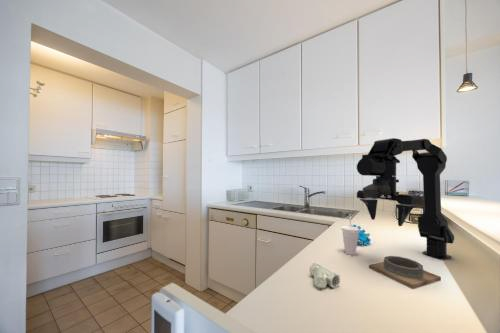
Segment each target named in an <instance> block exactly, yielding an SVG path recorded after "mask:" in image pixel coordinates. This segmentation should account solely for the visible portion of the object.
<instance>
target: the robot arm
mask: <svg viewBox="0 0 500 333" xmlns="http://www.w3.org/2000/svg"><path fill="white" fill-rule="evenodd" d="M424 150H425V151H426V152H420V153H419V151H424ZM408 151H409V152H410V151H412V158H411V159H413V161H415V163H416V167H417V169H418V171H419V172H420V174H421V175H422V181H423V182H422V185H423V186H422V188H423V190H422V191H423V198H422V196H420V195H419V194H412V193H411V194H410V193H404V194H403V193H399V191H397V183H400V179H397V164H400V163H401V160H400V159H398V158H397V157H396V156H398V155H401V154H402V153H403V152H408ZM447 161H448V157H447V155H446V153H445V152H444V151H443V149H442V148H441V147H439V146H437V145H435V144H434V143H432V142H431V141H430V139H427V138H420V139H411V140H402V139H400V138H396V137H394V138H393V137H392V138H386V139H379V140H376V141H374V142H373V144H372V146H371V148H370V150H369V151H368V153H367V154H362V156H361V159H360V160H358V162H357V164H356V170H357V173H358V174H359V175H361V176H365V177H366V176H367V177H368V176H369V177H370V176H374V177H375V178H372V183H371V184H368V185H366V186H364V187H362V189H361V190H358V191H357V192H356V198H357V199H359V201H360V202H363V203H364V205H365V207H366V208H367V211H368V214H369V215H370V218H371V220H373V221H375V219H376V215H377V207H378V199H380V200H386V201H387V200H388V201H393V202H394V201H395V202H397V203H398V204H395V207H396V209H397V224H398V227H403V225H404V223H405V221H406V220H407V218H408V216H409V214H410V213H411V212H412V210H413V209H414V208H417V207H418V206H419V205H423V213H422V214H421V216H418V217H417V222H418V223H417V228H418V232H419V236H420V237H421V238H425V239H426V250H423V251H422V252H421V253H422V254H424V255H427V256H430V257H433V258H436V259H439V260H447V259H450V258H452V255H449V254H447V251H448V249H447V245H448V244H454V242H455V235H454V233H453V232H452V230H451V228H449V224H448V220H447V218H445V216H444V215H443V214H442V204H441V203H442V202H441V200H442V199H441V198H442V197H441V174H442V173H443V172H444V170H446V166H447Z"/></svg>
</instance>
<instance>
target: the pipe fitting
mask: <svg viewBox="0 0 500 333" xmlns="http://www.w3.org/2000/svg"><path fill="white" fill-rule="evenodd" d="M309 274H310V275H312V276H313V283H314V287H316V288H317V289H325V288H326V287H327V286H330V288H333V289H337V288H338V287H339V285H340V283H341V277H340V275H339V274H337V273H336V272H333V271H330V270H329V269H327V268H325V267H323V266H322V265H320V264H318V263H316V262H312V263H311V265H310V266H309Z"/></svg>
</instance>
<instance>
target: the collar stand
mask: <svg viewBox="0 0 500 333" xmlns="http://www.w3.org/2000/svg"><path fill="white" fill-rule="evenodd" d="M368 268H369V269H371V270H373V271H375V272H376V273H379V274H381V275H383V276H386V277H387V278H389V279H392V280H393V281H395V282H398V283H399V284H401V285H404V286H406V287H408V288H410V289H412V290H413V289H417V288H420V287H424V286H427V285H430V284H434V283H436V282H441V280H442V279H441V278H442V276H440V275H437V274H435V273H433V272H429V271H426V270H424V265H423V264H421V263H420V262H419V261H416V260H414V259H410V258H408V257H407V258H406V257H402V256H397V255H388V256H387V255H386V256H384V258H383V261H380V262H375V263H370V264H368Z"/></svg>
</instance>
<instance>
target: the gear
mask: <svg viewBox="0 0 500 333" xmlns="http://www.w3.org/2000/svg"><path fill="white" fill-rule="evenodd" d="M351 226H352V227H356V228H359V231H360V232H359V233H358V240H359V242H358V244H359V245H361V246H362V245H363V246H364V247H367V246H369V245H371V241H372V239H371V238H370V236H371V234H370V233H366V230H365V229H364V228H363V229H362V227H361V226H360V225H357V224H353V225H351ZM358 240H357V241H358Z"/></svg>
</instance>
